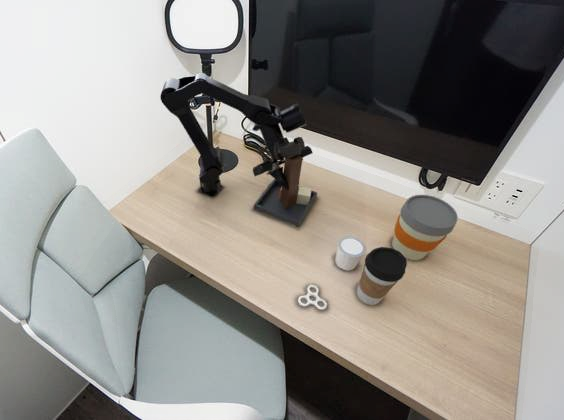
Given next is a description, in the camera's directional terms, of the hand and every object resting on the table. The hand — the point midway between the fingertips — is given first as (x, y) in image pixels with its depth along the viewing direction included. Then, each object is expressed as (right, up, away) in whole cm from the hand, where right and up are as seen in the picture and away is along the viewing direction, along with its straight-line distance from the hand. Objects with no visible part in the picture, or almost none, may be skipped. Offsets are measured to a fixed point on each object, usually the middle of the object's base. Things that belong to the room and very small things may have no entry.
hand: (292, 187), depth 95 cm
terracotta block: (0, -2, +11) cm, 11 cm away
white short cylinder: (+13, -21, -8) cm, 26 cm away
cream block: (+5, -4, +9) cm, 11 cm away
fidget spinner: (+2, -29, -15) cm, 33 cm away
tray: (-1, -5, +9) cm, 10 cm away
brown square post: (0, -5, +6) cm, 8 cm away
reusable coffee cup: (+32, -18, -5) cm, 37 cm away
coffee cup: (+16, -28, -15) cm, 36 cm away
